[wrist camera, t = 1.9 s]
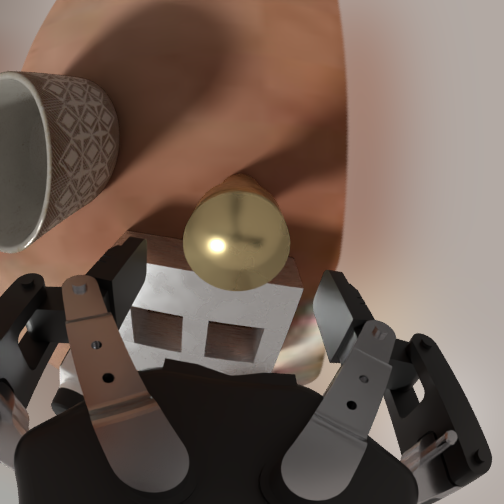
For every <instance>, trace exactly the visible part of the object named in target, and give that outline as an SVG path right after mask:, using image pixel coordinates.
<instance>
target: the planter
mask: <svg viewBox="0 0 504 504" xmlns="http://www.w3.org/2000/svg"><path fill="white" fill-rule="evenodd" d="M118 150H119V124H118V119H117V115H116V112H115V109H114V106H113V104H112V102H111V100H110V98H109V97H108V95H107V94H106V93H105V92H104V90H103V89H102V88H101V87H99V86H98V85H97V84H95V83H94V82H92V81H90V80H87V79H84V78H78V77H72V76H64V75H56V74H47V73H35V72H15V71H7V72H2V73H0V251H1V252H4V253H17V252H20V251H22V250H24V249H26V248H27V247H28V246H30V245H31V244H32V243H34V242H35V241H36V240H37V239H39V238H40V237H41V236H43V235H44V234H45V233H47V232H48V231H49V230H51V229H52V228H53V227H55V226H56V225H57V224H59V223H60V222H62V221H63V220H65V219H66V218H67V217H69V216H70V215H72V214H73V213H75V212H76V211H78V210H79V209H81V208H82V207H84V206H85V205H87V204H88V203H90V202H91V201H92V200H94V199H95V198H96V197H97V196H98V195H99V194H100V193H101V191H102V190H103V189H104V187H105V186H106V184H107V183H108V181H109V179H110V177H111V175H112V172H113V170H114V167H115V164H116V160H117V156H118Z"/></svg>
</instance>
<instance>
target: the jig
mask: <svg viewBox="0 0 504 504" xmlns="http://www.w3.org/2000/svg"><path fill="white" fill-rule="evenodd" d="M130 236H132V237H138V238H144V239H146V240H147V272H146V279H145V282H144V284H143V286H142V288H141V290H140V291H139V293H138V295H137V297H136V299H135V301H134V302H133V304H132V306H131V308H130V310H129V312H128V314H127V316H126V318H125V320H124V321H123V323H122V325H121V327H120V329H119V333H120V335H121V337H122V340H123V342H124V344H125V347H126V349H127V351H128V353H129V355H130V357H131V359H132V362H133V364H134V366H135V368H136V370H142V369H147V368H154V367H163V364H164V361H165V358H168V359H173V360H178V361H184V362H189V363H195V364H199V365H202V366H204V367H207V368H210V369H213V370H216V371H218V372H221V373H224V374H227V375H245V374H255V373H264V372H265V373H271V372H272V370H273V367H274V365H275V363H276V360H277V358H278V355H279V353H280V350H281V348H282V345H283V343H284V340H285V337H286V335H287V332H288V330H289V327H290V324H291V322H292V319H293V317H294V314H295V311H296V308H297V306H298V303H299V300H300V297H301V295H302V292H303V289H304V288H303V285H302V282H301V279H300V275H299V272H298V269H297V266H296V263H295V260H294V258H290V257H288V258H287V261H286V263H285V265H284V267H283V268H282V270H281V271H280V272H279V273H278V274H277V276H276V277H274V278H273V279H272V280H271V281H269V282H268V283H266V284H264V285H262V286H260V287H258V288H255V289H251V290H247V291H228V290H223V289H219V288H216V287H214V286H212V285H210V284H208V283H206V282H205V281H203V280H202V279H201V278H200V277H199V276H198V275H197V274H196V273H195V272H194V271H193V270H192V268H191V267H190V265H189V264H188V262H187V259H186V257H185V253H184V249H183V240H181V239H175V238H169V237H163V236H157V235H151V234H145V233H139V232H133V231H126V232H125V233H124V234H123V235H122V236H121V237H120V238H119V239H118V240H117V241H116V242H115V244H114V245H113V246H112V247H114V246H116V245H122V244H123V243H124V242H125V241H126V240H127V239H128V238H129V237H130ZM112 247H111V248H112ZM147 309H148V310H153V311H158V312H163V313H168V314H173V315H179V316H183V318H179V317H173V316H168V315H163V314H158V313H153V312H148V311H147ZM209 321H214V322H220V323H227V324H234V325H241V326H249V327H253V328H252V329H249V328H241V327H234V326H227V325H220V324H214V323H209Z"/></svg>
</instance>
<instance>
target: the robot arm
mask: <svg viewBox="0 0 504 504" xmlns="http://www.w3.org/2000/svg"><path fill="white" fill-rule="evenodd" d="M146 272H147V240H146V239H144V238H138V237H132V236H130V237H129V238H128V239H127V240H126V241H125V242H124V243H123V244H122V245H116V246H114V247H112V248H110V249H109V250H108V251H107V252H106V253H105V254H104V255H103V256H102V257H101V258H100V259H99V261H97V262H96V264H95V265H94V266H93V267H92V268H91V269H90V270H89V271H88V272H87V274H86V275H76V276H73V277H70V278H68V279H67V280H66V281H65V282H64V283H63V285H62V287H45V282H44V279H43V277H42V276H41V275H39V274H35V273H30V274H25V275H23V276H21V277H19V278H18V279H17V280H16V281H15V282H14V283H13V284H12V285H11V286H10V287H9V288H8V289H7V290H6V291H5V292H4V293H3V295H2V296H1V297H0V463H2V464H4V465H5V466H7V467H8V468H10V469H12V470H13V471H15V476H16V481H17V487H18V496H19V504H432V503H434V502H436V501H438V500H440V499H442V498H444V497H446V496H448V495H449V494H452V493H454V492H455V491H457V490H459V489H461V488H463V487H464V486H466V485H467V484H469V483H471V482H472V481H474V480H476V479H477V478H479V477H480V476H482V475H483V474H485V473H486V472H487V471H488V470H489V469H490V467H491V463H492V455H491V452H490V449H489V446H488V444H487V441H486V439H485V436H484V434H483V432H482V430H481V427H480V425H479V423H478V420H477V418H476V416H475V414H474V412H473V410H472V408H471V406H470V404H469V402H468V400H467V398H466V396H465V394H464V392H463V390H462V388H461V386H460V384H459V382H458V380H457V379H456V377H455V375H454V373H453V371H452V370H451V368H450V366H449V364H448V363H447V361H446V359H445V358H444V356H443V354H442V352H441V351H440V349H439V347H438V346H437V344H436V343H435V342H434V341H433V340H432V339H431V338H430V337H428V336H426V335H424V334H419V333H418V334H414V335H413V337H412V338H411V340H410V341H409V342H406V341H403V340H399V339H396V335H395V333H394V331H393V330H392V329H391V327H389V326H388V325H387V324H385V323H383V322H380V321H377V320H375V319H374V318H373V316H372V314H371V312H370V310H369V309H368V307H367V305H365V302H364V300H363V299H362V297H361V295H360V293H359V292H358V290H357V289H355V288H354V287H353V286H352V285H351V284H349V283H348V281H347V279H346V278H345V276H344V274H343V273H342V272H338V271H332V270H326V271H325V272H324V273H323V276H322V279H321V281H320V284H319V287H318V289H317V292H316V295H315V297H314V301H313V312H314V315H315V318H316V321H317V324H318V327H319V330H320V333H321V336H322V339H323V343H324V346H325V349H326V352H327V355H328V359H329V362H330V363H341V367H340V368H339V370H338V371H337V373H336V375H335V376H334V378H333V380H332V382H331V383H330V385H329V386H328V388H327V389H326V391H325V393H324V394H323V396H322V395H320V394H319V393H317V392H315V391H313V390H312V389H309V388H307V387H304V386H302V385H298V384H297V382H296V377H295V375H294V374H278V373H265V372H264V373H255V374H245V375H227V374H224V373H221V372H218V371H216V370H213V369H210V368H207V367H204V366H202V365H199V364H195V363H189V362H184V361H178V360H173V359H168V358H165V361H164V364H163V367H154V368H147V369H142V370H139V371H137V370H136V368H135V366H134V364H133V362H132V359H131V357H130V355H129V353H128V351H127V349H126V347H125V344H124V342H123V340H122V337H121V335H120V333H119V329H120V327H121V325H122V323H123V321H124V320H125V318H126V316H127V314H128V312H129V310H130V308H131V306H132V304H133V302H134V301H135V299H136V297H137V295H138V293H139V291H140V290H141V288H142V286H143V284H144V282H145V279H146ZM25 325H26V327H27V332H26V333H25V335H24V336H23V338H22V339H21V341H20V342H19V344H18V337H19V334H20V332H21V331H22V329H23V328H24V326H25ZM58 343H69V344H70V349H71V353H72V357H73V361H74V365H75V369H76V373H77V376H78V380H79V383H80V386H81V390H82V393H83V396H84V399H85V400H84V401H82V402H80V403H78V404H77V405H75V406H73V407H71V408H69V409H68V410H66V411H64V412H62V413H60V414H58V415H57V416H55V417H53V418H51V419H49V420H47V421H45V422H43V423H41V424H40V425H38V426H36V427H34V428H32V429H30V430H29V428H28V426H29V416H28V413H27V410H26V408H27V406H28V403H29V401H30V399H31V397H32V394H33V392H34V390H35V388H36V386H37V384H38V381H39V379H40V377H41V375H42V373H43V371H44V369H45V367H46V365H47V363H48V361H49V359H50V358H51V356H52V354H53V352H54V350H55V348H56V346H57V345H58ZM418 379H420V381H421V383H422V385H423V387H424V390H425V394H424V398H423V400H422V401H421V402H420V403H419V401H418V398H417V396H416V393H415V391H414V389H413V385H414V384H415V383H416V382H417V380H418ZM383 396H384V399H385V401H386V405H387V408H388V411H389V414H390V417H391V420H392V424H393V427H394V430H395V434H396V437H397V440H398V444H399V447H400V451H401V455H402V457H401V460H400V461H399V460H398V459H397V458H395V457H394V456H393V455H392V454H390V453H389V452H388V451H386V450H385V449H384V448H383V447H382V446H380V445H379V444H378V443H377V442H376V441H374V440H373V439H372V438H371V437H369V436H368V434H369V431H370V429H371V426H372V424H373V421H374V419H375V416H376V414H377V411H378V409H379V406H380V403H381V401H382V398H383Z"/></svg>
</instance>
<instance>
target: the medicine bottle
mask: <svg viewBox="0 0 504 504" xmlns="http://www.w3.org/2000/svg"><path fill="white" fill-rule="evenodd" d="M84 400H85V399H84V396H83V393H82V390H81V386H80V383H79V380H78V376H77V373H76V369H75V365H74V361H73V357H72V353H71V349H69V351H68V352H67V354H66V356H65V358H64V359H63V361H62V363H61V365H60V387H59V389H58V391H57V393H56V395H55V397H54V399H53V402H52V404H51V406H52V409H53V411H54V412H55V414H56V415H58V414H60V413H62V412H64V411H66V410H68V409H69V408H71V407H73V406H75V405H77V404H78V403H80V402H82V401H84Z"/></svg>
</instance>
